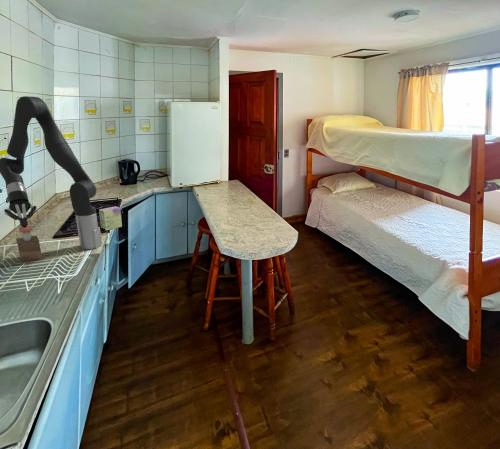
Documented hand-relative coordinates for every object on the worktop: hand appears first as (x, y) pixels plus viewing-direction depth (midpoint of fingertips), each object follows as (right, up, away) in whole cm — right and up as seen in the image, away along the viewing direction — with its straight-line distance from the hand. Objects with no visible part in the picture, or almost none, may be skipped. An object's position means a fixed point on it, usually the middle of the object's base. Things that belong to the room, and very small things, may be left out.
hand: (24, 226), depth 151 cm
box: (+19, -1, +48) cm, 52 cm away
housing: (0, -15, +5) cm, 15 cm away
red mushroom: (0, -10, +3) cm, 10 cm away
